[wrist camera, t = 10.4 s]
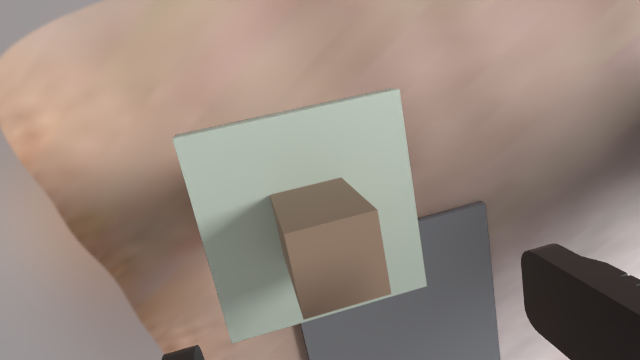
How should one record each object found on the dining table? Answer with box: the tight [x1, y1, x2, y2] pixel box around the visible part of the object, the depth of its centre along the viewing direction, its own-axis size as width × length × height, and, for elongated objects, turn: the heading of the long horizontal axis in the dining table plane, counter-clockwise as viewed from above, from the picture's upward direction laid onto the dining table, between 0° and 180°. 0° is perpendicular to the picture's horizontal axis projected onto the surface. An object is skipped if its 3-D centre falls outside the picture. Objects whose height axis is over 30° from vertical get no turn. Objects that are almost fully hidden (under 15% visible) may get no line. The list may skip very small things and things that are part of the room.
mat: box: [301, 202, 500, 360], centre depth 35 cm, size 16×16×1 cm
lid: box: [173, 88, 427, 343], centre depth 16 cm, size 9×9×6 cm
